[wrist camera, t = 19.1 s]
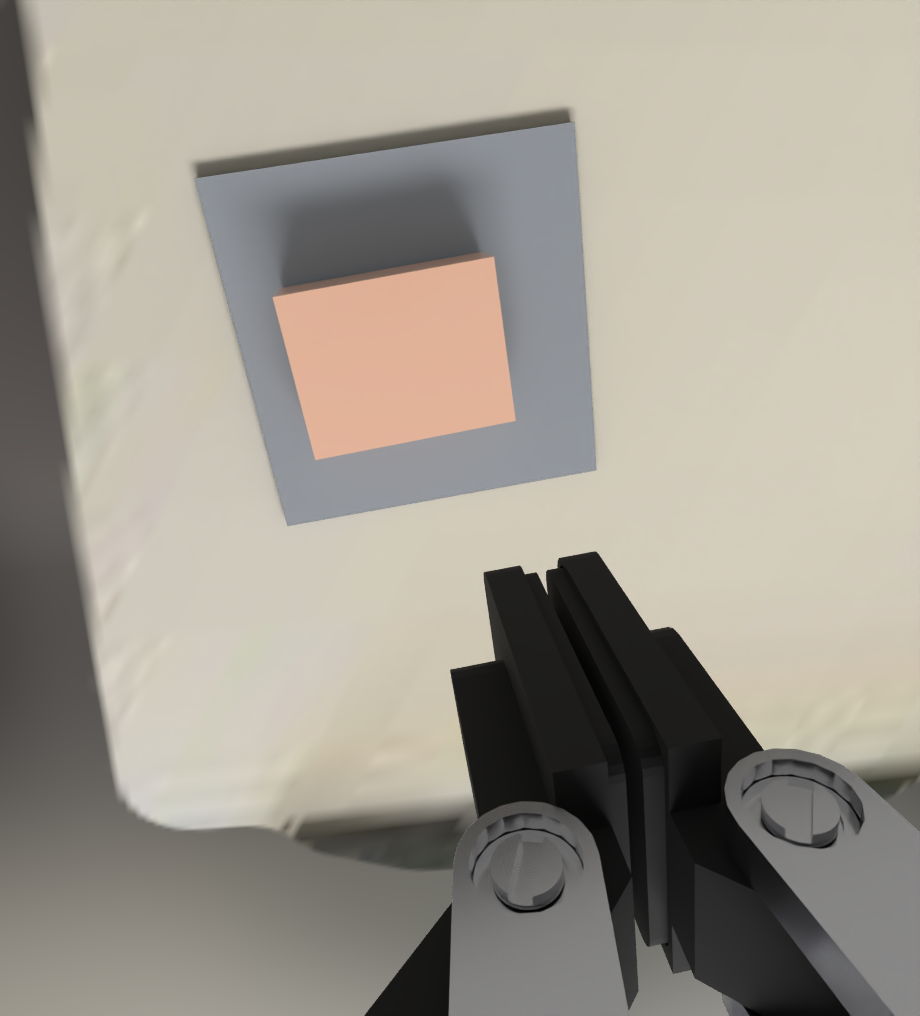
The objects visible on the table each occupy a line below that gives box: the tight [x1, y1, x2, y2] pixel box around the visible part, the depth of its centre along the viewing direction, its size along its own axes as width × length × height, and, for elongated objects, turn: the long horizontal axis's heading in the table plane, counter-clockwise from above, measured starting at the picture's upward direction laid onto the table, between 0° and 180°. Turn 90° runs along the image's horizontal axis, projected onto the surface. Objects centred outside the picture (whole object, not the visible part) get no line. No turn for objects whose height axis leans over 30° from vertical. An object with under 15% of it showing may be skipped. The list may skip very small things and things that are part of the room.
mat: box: [195, 122, 596, 526], centre depth 33 cm, size 16×16×1 cm
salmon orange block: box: [273, 252, 516, 460], centre depth 31 cm, size 3×7×9 cm
